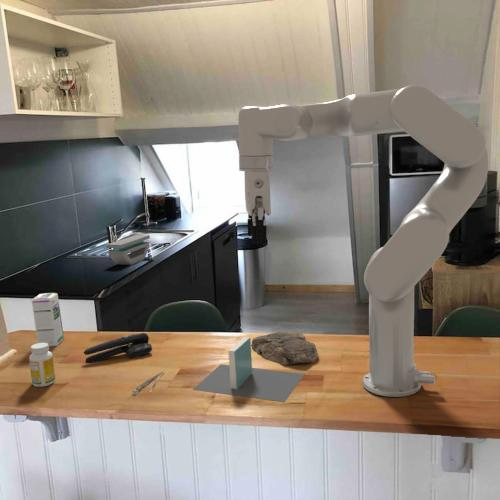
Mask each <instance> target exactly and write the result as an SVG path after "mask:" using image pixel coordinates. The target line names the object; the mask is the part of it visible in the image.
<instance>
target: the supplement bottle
mask: <svg viewBox="0 0 500 500" xmlns="http://www.w3.org/2000/svg"><path fill="white" fill-rule="evenodd" d="M49 350H50V346H48V343H38V342H37V343H35V344H32V345H31V346H30V352H31V354H30V355H29V357H28V361H29V368H30V376H31V383H32V384H31V385H33V386H34V387H36V388H43V387H47V386H50V385H53V384H54V383H55V381H56V373H55V364H54V357H53V353H52V352H51V351H49Z"/></svg>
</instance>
